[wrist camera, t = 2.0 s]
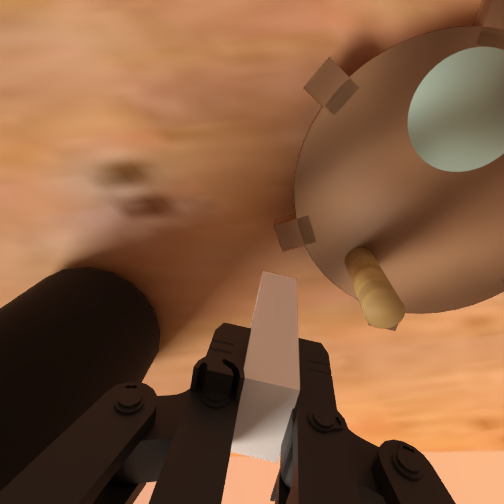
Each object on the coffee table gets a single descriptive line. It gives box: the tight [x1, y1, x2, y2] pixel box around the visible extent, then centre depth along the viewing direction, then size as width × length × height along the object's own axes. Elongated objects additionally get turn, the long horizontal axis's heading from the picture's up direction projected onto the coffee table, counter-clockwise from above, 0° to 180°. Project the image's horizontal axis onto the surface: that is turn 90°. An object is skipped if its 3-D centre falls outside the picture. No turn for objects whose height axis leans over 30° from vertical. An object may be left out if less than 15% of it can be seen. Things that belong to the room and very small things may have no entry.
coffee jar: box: [0, 268, 160, 491], centre depth 20 cm, size 11×11×18 cm
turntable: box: [274, 0, 504, 331], centre depth 17 cm, size 19×17×7 cm
